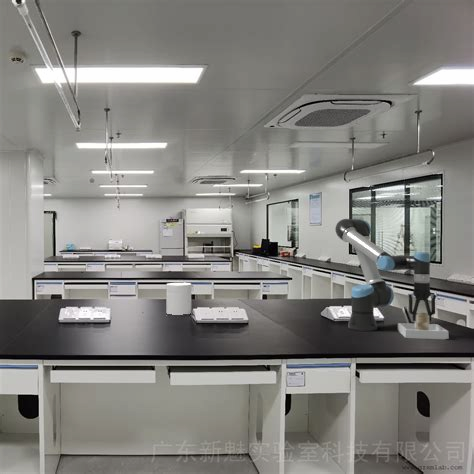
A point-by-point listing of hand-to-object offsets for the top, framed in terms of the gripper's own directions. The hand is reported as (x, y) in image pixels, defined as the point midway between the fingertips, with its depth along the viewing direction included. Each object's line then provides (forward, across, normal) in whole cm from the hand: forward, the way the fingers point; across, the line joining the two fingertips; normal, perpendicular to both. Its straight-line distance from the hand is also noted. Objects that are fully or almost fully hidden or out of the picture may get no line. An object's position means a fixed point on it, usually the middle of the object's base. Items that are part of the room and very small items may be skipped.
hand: (421, 327), depth 220 cm
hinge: (+4, +3, +39) cm, 39 cm away
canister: (+4, -140, +37) cm, 145 cm away
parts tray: (+4, 0, 0) cm, 4 cm away
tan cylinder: (+2, 0, 0) cm, 2 cm away
